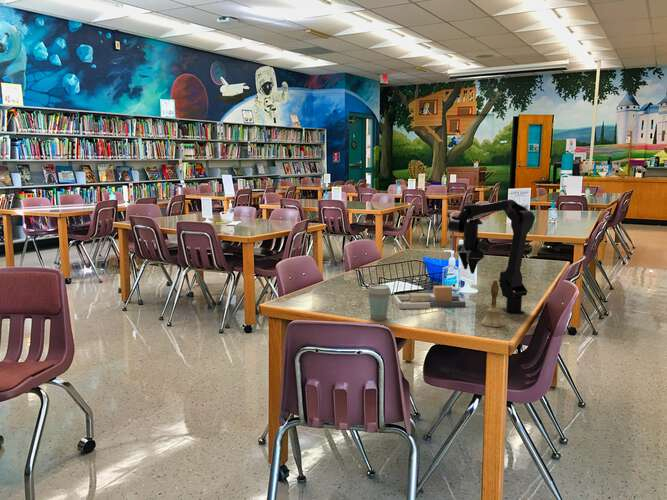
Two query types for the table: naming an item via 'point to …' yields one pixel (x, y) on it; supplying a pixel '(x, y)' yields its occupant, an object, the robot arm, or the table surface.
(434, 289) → the tan rectangular block
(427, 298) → the beige cube
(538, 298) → the table surface
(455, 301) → the slot rails
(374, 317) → the coffee cup
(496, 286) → the hand bell
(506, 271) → the robot arm
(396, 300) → the tray
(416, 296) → the tan wooden cube
